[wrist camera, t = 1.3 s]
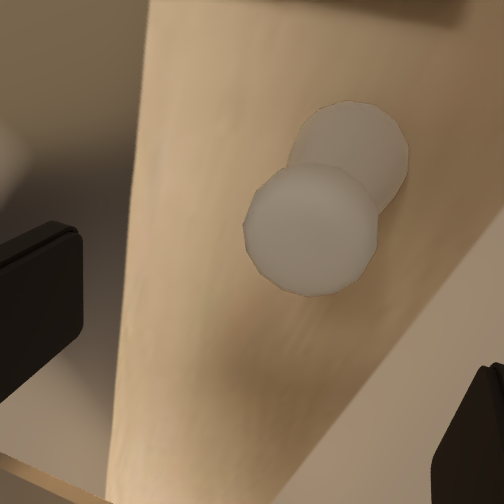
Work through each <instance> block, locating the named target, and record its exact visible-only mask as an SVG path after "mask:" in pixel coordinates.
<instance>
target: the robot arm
mask: <svg viewBox="0 0 504 504" xmlns="http://www.w3.org/2000/svg"><path fill="white" fill-rule="evenodd" d="M82 328H83V240H82V237H81V236H80V235H79V234H78V231H77V229H76V228H75V227H73V226H70V225H67V224H63V223H61V222H58V221H53V220H52V221H48V222H46V223H44V224H42V225H40V226H38V227H36V228H34V229H32V230H30V231H28V232H26V233H23V234H21V235H19V236H17V237H15V238H13V239H11V240H9V241H7V242H5V243H3V244H1V245H0V403H1V402H2V401H4V400H5V399H6V398H7V397H8V396H9V395H11V394H12V393H13V392H14V391H15V390H16V389H18V388H19V387H20V386H21V385H22V384H23V383H24V382H26V381H27V380H28V379H29V378H30V377H32V376H33V375H34V374H35V373H36V372H37V371H38V370H40V369H41V368H42V367H43V366H44V365H45V364H47V363H48V362H49V361H50V360H51V359H52V358H53V357H55V356H56V355H57V354H58V353H59V352H61V350H63V349H64V348H65V347H66V346H67V345H69V344H70V343H71V342H72V341H73V340H74V339H76V338H77V337H78V335H79V334H80V332H81V330H82ZM431 500H432V504H504V365H503V364H500V363H497V362H495V363H493V364H492V365H491V366H490V367H486V366H481V367H480V368H479V369H478V371H477V373H476V375H475V377H474V379H473V381H472V383H471V385H470V386H469V388H468V390H467V392H466V394H465V396H464V398H463V400H462V402H461V404H460V406H459V408H458V410H457V411H456V413H455V416H454V417H453V419H452V421H451V423H450V425H449V427H448V429H447V431H446V433H445V435H444V437H443V438H442V440H441V442H440V444H439V446H438V448H437V450H436V452H435V454H434V456H433V459H432V464H431ZM0 504H113V503H111V502H108V501H106V500H104V499H102V498H100V497H98V496H95V495H93V494H91V493H89V492H87V491H85V490H82V489H80V488H78V487H76V486H74V485H71V484H69V483H67V482H65V481H63V480H60V479H58V478H56V477H54V476H52V475H50V474H48V473H45V472H43V471H41V470H38V469H36V468H34V467H32V466H30V465H28V464H26V463H24V462H21V461H19V460H17V459H15V458H12V457H10V456H8V455H6V454H4V453H1V452H0Z"/></svg>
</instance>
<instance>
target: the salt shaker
mask: <svg viewBox="0 0 504 504" xmlns="http://www.w3.org/2000/svg"><path fill="white" fill-rule="evenodd" d="M408 151H409V146H408V144H407V142H406V140H405V138H404V136H403V134H402V132H401V129H400V127H399V125H398V123H397V121H396V120H394V119H393V118H392V117H390V116H389V115H388V114H386V113H385V112H384V111H382V110H381V109H380V108H378V107H377V106H376V105H373V104H366V103H360V102H353V101H343V102H340V103H337V104H333V105H330V106H326V107H323V108H320V109H319V110H318V111H317V112H316V113H315V114H314V115H313V116H311V117H310V118H309V119H308V120H307V121H306V122H305V123H304V124H303V125H302V126H301V128H300V130H299V132H298V135H297V137H296V140H295V142H294V144H293V147H292V149H291V152H290V156H289V159H288V163H287V167H286V168H282V169H281V170H280V171H278V172H277V173H275V174H274V175H273V176H272V177H271V178H270V179H269V180H268V181H267V182H266V183H265V184H263V185H262V186H261V187H260V188H259V189H258V190H257V191H256V192H255V194H254V197H253V199H252V202H251V204H250V207H249V209H248V212H247V215H246V217H245V220H244V223H243V230H244V238H245V245H246V251H247V253H248V254H249V256H250V258H251V259H252V261H253V263H254V265H255V266H256V268H257V270H258V271H259V273H260V274H261V275H262V276H264V277H265V278H267V279H268V280H269V281H271V282H272V283H273V284H275V285H276V286H278V287H279V288H280V289H282V290H285V291H288V292H292V293H295V294H299V295H302V296H306V297H314V296H321V295H328V294H335V293H337V292H339V291H340V290H342V289H344V288H345V287H347V286H348V285H350V284H352V283H353V282H355V281H356V280H358V279H359V278H360V276H361V275H362V274H363V272H364V270H365V268H366V267H367V265H368V263H369V261H370V259H371V257H372V256H373V254H374V252H375V250H376V248H377V241H378V216H379V214H380V213H381V212H382V211H383V210H384V209H385V208H386V206H387V205H388V204H389V203H390V202H391V201H392V200H393V198H394V197H395V196H396V194H397V192H398V190H399V188H400V187H401V185H402V183H403V181H404V179H405V177H406V175H407V174H408Z"/></svg>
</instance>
